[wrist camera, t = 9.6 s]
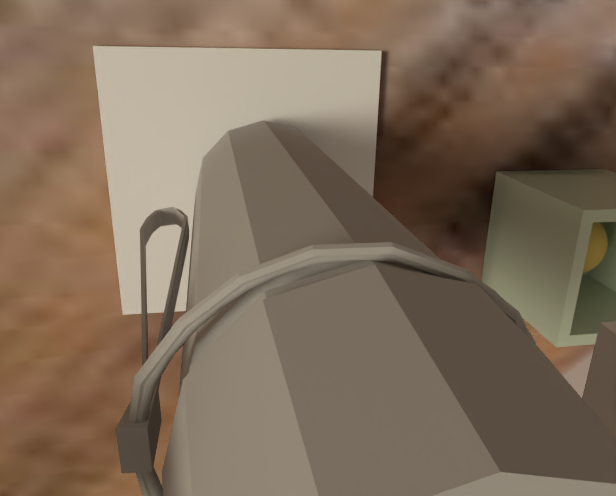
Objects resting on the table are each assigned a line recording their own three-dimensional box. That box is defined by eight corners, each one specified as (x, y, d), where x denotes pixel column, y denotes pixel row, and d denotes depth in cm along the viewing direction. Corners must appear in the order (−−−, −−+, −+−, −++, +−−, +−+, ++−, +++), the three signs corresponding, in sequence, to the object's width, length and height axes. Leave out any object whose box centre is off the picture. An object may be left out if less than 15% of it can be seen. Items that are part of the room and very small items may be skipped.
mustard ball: (529, 204, 32) (567, 223, 28) (586, 202, 32) (629, 220, 29) (520, 262, 33) (555, 287, 30) (574, 259, 34) (615, 283, 30)
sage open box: (496, 171, 32) (583, 210, 25) (604, 168, 33) (718, 205, 26) (481, 281, 34) (556, 347, 27) (582, 276, 36) (680, 337, 28)
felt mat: (94, 45, 26) (92, 46, 26) (378, 50, 29) (381, 50, 28) (124, 310, 31) (122, 314, 31) (364, 296, 33) (366, 299, 33)
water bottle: (332, 109, 29) (855, 380, 6) (329, 251, 31) (672, 830, 8) (149, 112, 27) (-179, 497, 4) (163, 261, 30) (14, 999, 7)
